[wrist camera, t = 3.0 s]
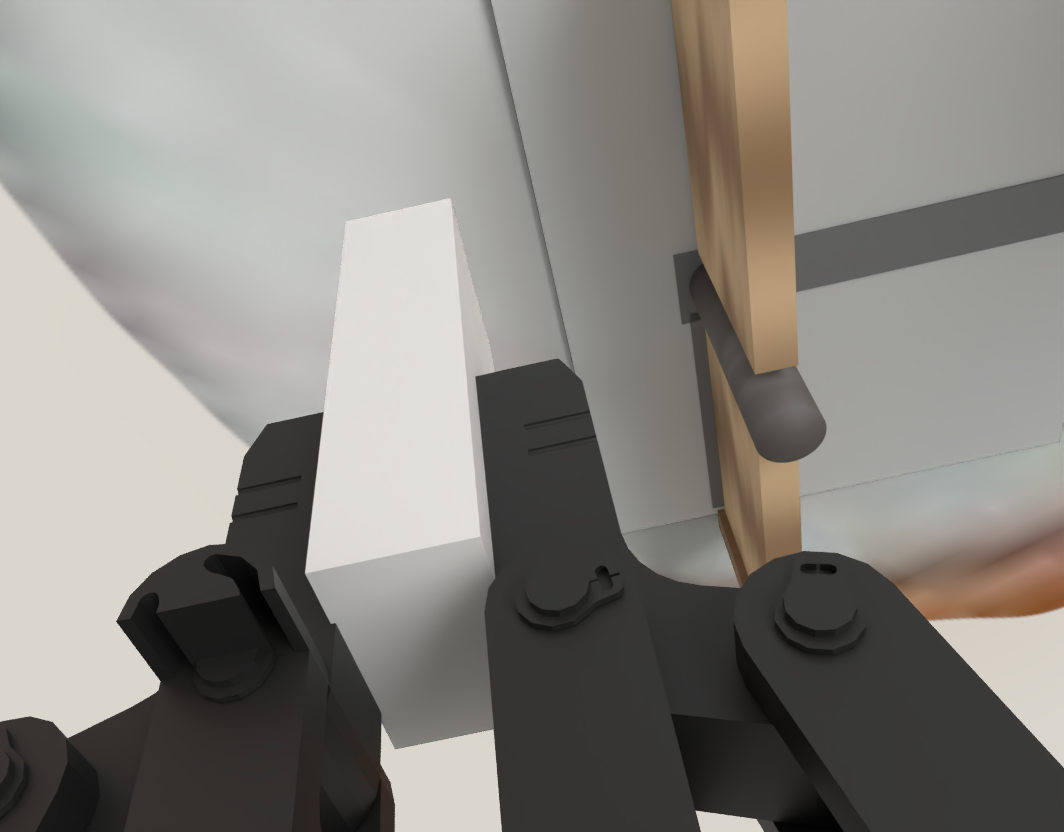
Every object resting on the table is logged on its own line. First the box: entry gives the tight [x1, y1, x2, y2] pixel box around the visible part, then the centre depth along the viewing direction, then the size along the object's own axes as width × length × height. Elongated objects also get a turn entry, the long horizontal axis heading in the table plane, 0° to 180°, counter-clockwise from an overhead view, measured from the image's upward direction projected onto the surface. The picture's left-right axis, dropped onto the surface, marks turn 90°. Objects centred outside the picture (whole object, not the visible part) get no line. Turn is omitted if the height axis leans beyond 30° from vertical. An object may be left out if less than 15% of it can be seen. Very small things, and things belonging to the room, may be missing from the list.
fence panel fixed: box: [689, 264, 827, 588], centre depth 32 cm, size 13×2×8 cm, turn 12°
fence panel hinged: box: [671, 0, 798, 375], centre depth 24 cm, size 12×2×8 cm, turn 12°
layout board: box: [491, 0, 1064, 534], centre depth 32 cm, size 19×23×1 cm
